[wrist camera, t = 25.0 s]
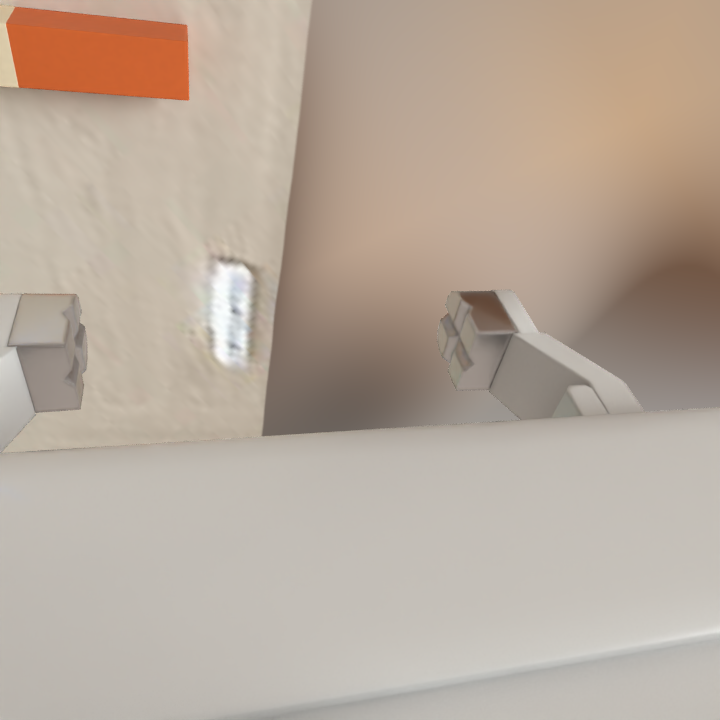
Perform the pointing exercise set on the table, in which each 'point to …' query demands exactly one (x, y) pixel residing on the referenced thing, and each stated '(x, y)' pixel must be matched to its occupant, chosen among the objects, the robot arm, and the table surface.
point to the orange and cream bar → (92, 54)
